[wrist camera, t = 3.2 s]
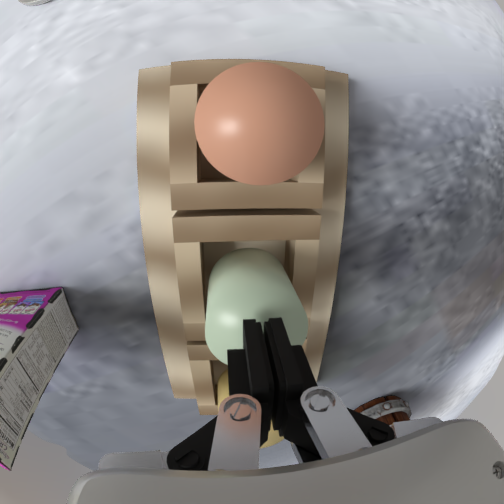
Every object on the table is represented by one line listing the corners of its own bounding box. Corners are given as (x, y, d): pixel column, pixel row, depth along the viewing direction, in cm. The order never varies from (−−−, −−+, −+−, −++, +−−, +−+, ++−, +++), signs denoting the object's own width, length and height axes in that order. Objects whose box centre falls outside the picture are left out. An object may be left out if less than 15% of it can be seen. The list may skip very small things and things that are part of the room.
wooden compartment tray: (143, 73, 15) (126, 58, 11) (341, 77, 16) (365, 65, 13) (175, 389, 25) (172, 418, 21) (311, 382, 26) (321, 408, 23)
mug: (379, 382, 27) (440, 475, 14) (413, 392, 34) (459, 456, 21) (311, 434, 30) (351, 523, 17) (360, 434, 36) (396, 498, 23)
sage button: (206, 248, 16) (200, 289, 11) (288, 246, 16) (314, 285, 12) (211, 318, 18) (209, 372, 13) (283, 315, 18) (302, 366, 13)
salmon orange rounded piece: (204, 90, 13) (195, 62, 8) (293, 92, 13) (324, 68, 8) (204, 175, 14) (194, 186, 10) (291, 175, 15) (322, 186, 10)
